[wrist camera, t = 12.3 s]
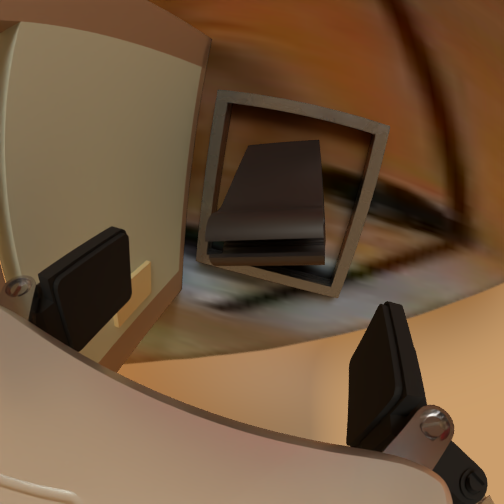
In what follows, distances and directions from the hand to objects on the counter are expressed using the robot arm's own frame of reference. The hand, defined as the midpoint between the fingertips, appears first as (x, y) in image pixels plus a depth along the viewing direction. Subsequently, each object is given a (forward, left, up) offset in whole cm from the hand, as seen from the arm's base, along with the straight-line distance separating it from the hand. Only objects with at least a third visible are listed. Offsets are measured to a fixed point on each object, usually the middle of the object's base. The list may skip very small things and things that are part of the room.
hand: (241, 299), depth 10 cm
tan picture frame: (+10, 0, -17) cm, 20 cm away
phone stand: (0, 0, -17) cm, 17 cm away
